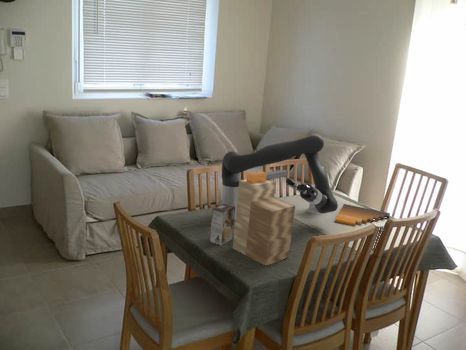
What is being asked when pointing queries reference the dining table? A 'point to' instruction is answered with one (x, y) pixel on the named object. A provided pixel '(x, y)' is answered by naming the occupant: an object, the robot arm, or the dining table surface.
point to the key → (264, 176)
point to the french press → (312, 208)
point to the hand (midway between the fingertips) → (294, 182)
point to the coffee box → (222, 224)
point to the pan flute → (358, 215)
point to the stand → (262, 223)
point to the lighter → (378, 234)
